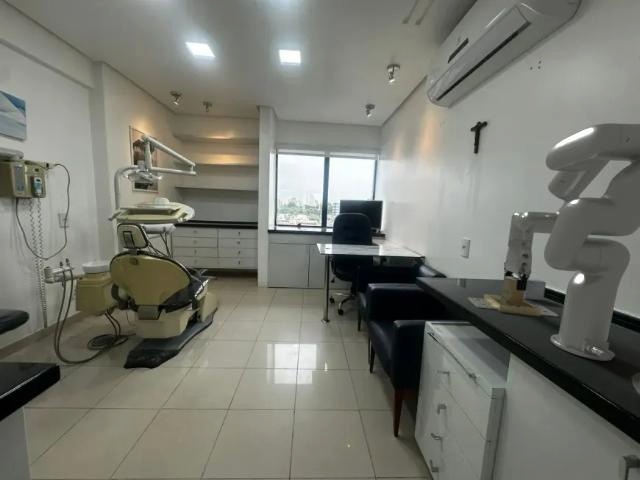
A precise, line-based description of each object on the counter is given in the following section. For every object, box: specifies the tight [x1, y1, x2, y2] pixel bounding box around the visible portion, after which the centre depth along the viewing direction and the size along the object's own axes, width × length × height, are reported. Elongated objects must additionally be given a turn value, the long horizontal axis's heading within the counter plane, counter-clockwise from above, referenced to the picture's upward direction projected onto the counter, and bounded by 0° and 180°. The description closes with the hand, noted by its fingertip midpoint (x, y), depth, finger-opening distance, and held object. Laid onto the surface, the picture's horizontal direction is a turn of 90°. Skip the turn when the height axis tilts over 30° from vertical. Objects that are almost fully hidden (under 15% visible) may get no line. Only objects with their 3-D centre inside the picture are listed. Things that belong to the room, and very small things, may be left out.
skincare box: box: [499, 276, 525, 307], centre depth 106 cm, size 6×4×12 cm
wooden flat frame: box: [467, 293, 559, 318], centre depth 107 cm, size 14×28×2 cm, turn 79°
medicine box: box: [523, 278, 547, 301], centre depth 121 cm, size 8×4×9 cm, turn 84°
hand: (513, 287), depth 105 cm, fingers open, 9 cm apart
